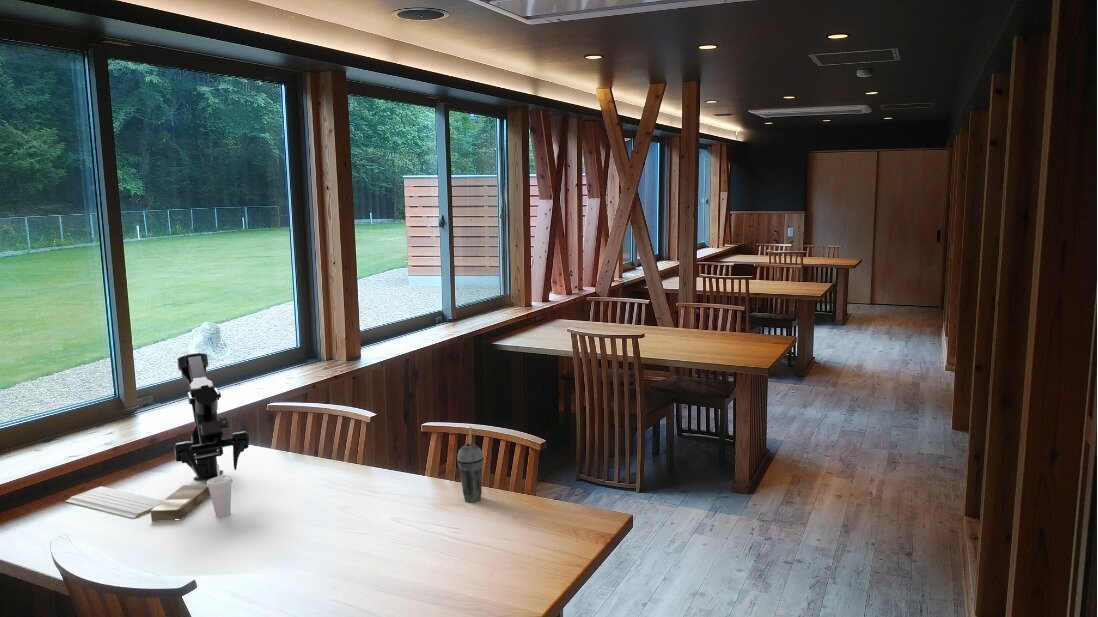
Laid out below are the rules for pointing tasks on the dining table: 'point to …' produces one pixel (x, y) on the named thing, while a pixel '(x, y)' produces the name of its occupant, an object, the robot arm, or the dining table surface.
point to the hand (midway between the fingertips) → (217, 472)
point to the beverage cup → (471, 471)
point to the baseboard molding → (115, 501)
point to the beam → (180, 502)
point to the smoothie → (220, 493)
